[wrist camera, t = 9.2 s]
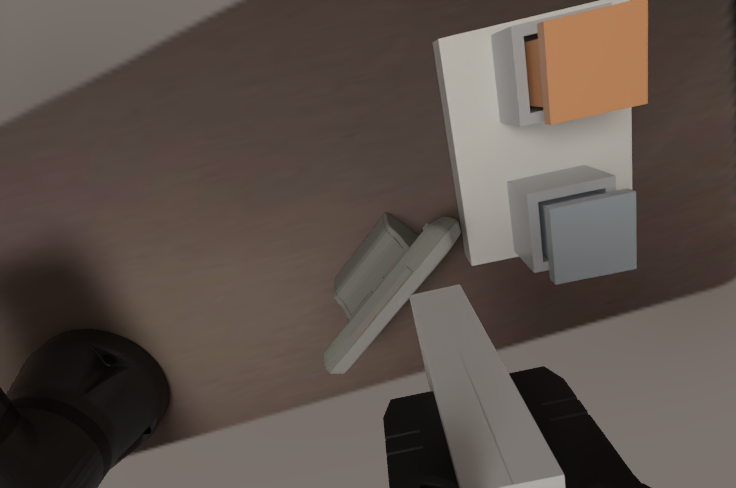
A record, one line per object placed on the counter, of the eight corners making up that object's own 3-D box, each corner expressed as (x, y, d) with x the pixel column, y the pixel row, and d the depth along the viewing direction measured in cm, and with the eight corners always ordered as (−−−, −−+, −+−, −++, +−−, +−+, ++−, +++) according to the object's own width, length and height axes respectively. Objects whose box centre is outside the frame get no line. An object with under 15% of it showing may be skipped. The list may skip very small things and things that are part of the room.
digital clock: (361, 339, 47) (360, 406, 37) (302, 283, 45) (284, 340, 35) (479, 244, 43) (514, 291, 33) (422, 179, 41) (441, 208, 31)
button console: (464, 254, 44) (486, 289, 36) (432, 42, 37) (450, 31, 29) (614, 223, 43) (668, 252, 35) (609, 0, 36) (674, -23, 28)
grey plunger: (519, 247, 40) (555, 284, 32) (512, 185, 38) (549, 209, 30) (584, 234, 39) (636, 268, 32) (581, 170, 37) (636, 191, 30)
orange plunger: (510, 117, 35) (550, 124, 27) (502, 37, 33) (543, 21, 25) (585, 100, 34) (647, 103, 27) (581, 18, 32) (647, -4, 25)
